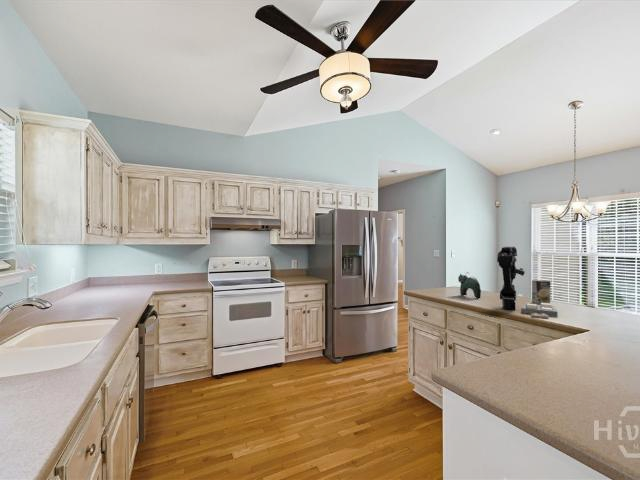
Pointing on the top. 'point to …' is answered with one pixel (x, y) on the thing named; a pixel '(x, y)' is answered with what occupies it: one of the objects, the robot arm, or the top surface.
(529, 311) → the control panel
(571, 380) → the top surface
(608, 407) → the top surface
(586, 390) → the top surface
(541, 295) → the coffee box
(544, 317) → the pattern card
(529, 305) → the button front left
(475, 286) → the ceramic cat
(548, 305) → the button back right
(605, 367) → the top surface
